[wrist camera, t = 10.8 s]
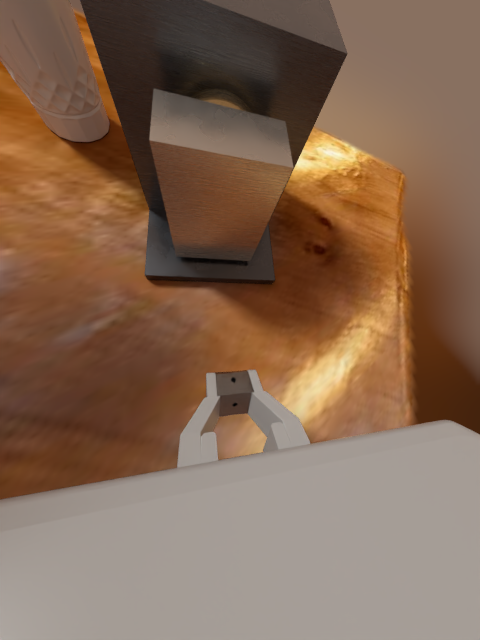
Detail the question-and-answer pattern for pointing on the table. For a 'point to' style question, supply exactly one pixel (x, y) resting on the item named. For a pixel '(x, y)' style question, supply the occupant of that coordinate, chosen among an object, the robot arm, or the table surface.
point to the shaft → (217, 171)
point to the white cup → (52, 66)
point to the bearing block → (214, 73)
